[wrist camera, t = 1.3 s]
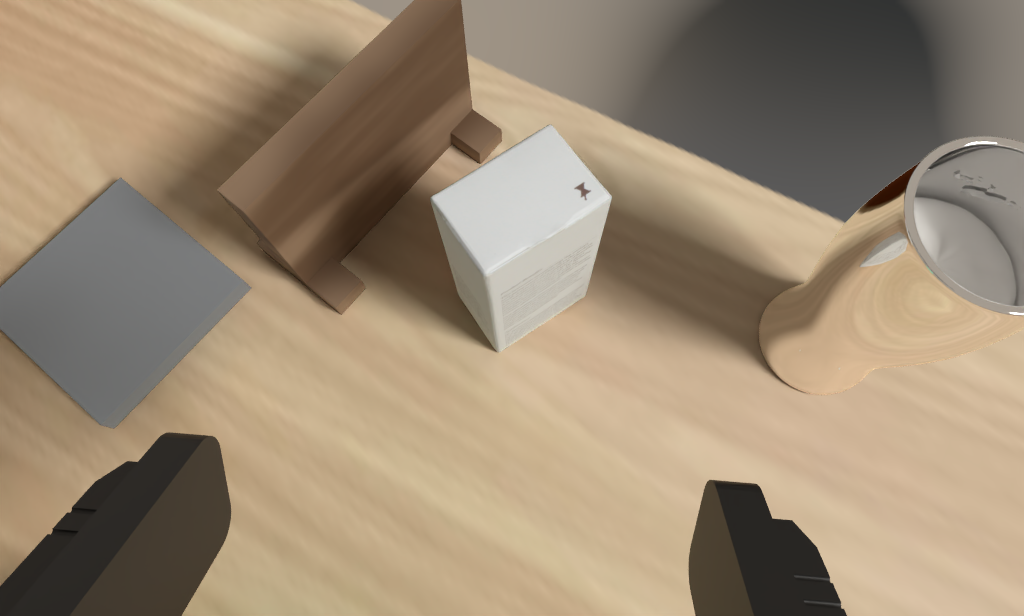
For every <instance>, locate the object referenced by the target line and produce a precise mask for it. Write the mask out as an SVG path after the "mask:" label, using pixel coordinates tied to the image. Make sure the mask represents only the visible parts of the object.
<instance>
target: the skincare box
mask: <svg viewBox="0 0 1024 616" xmlns="http://www.w3.org/2000/svg"><path fill="white" fill-rule="evenodd" d="M430 199H431V204H432V208H433V211H434V214H435V218H436V221H437V224H438V228H439V231H440V234H441V238H442V241H443V244H444V248H445V251H446V254H447V258H448V261H449V265H450V268H451V271H452V275H453V278H454V281H455V285H456V288H457V292H458V295H459V297H460V298H461V300H462V301H463V302H464V304H465V305H466V307H467V308H468V310H469V311H470V313H471V314H472V316H473V317H474V319H475V320H476V322H477V323H478V325H479V326H480V328H481V330H482V331H483V333H484V334H485V336H486V337H487V338H488V340H489V341H490V343H491V344H492V346H493V347H494V349H495V350H496V351H497V352H501V351H503V350H504V349H506V348H507V347H509V346H510V345H512V344H513V343H515V342H516V341H518V340H519V339H521V338H522V337H524V336H526V335H527V334H529V333H530V332H532V331H533V330H535V329H536V328H538V327H539V326H541V325H542V324H544V323H545V322H547V321H548V320H550V319H551V318H553V317H555V316H556V315H558V314H559V313H561V312H562V311H564V310H565V309H567V308H568V307H570V306H571V305H573V304H574V303H576V302H577V301H579V300H580V299H582V298H583V297H585V296H586V292H587V289H588V285H589V282H590V278H591V274H592V270H593V266H594V262H595V259H596V255H597V252H598V247H599V244H600V240H601V236H602V233H603V229H604V225H605V222H606V218H607V214H608V211H609V207H610V203H611V199H612V196H611V195H610V194H609V192H608V191H607V190H606V189H605V188H604V187H603V185H602V184H601V183H600V182H599V181H598V180H597V178H596V177H595V176H594V175H593V174H592V173H591V171H590V170H589V169H588V168H587V167H586V165H585V164H584V163H583V162H582V161H581V160H580V158H579V157H578V156H577V155H576V154H575V152H574V151H573V150H572V149H571V148H570V146H569V145H568V144H567V143H566V141H565V140H564V139H563V138H562V137H561V135H560V134H559V133H558V132H557V131H556V130H555V128H554V127H553V126H552V125H547V126H546V127H544V128H543V129H541V130H539V131H538V132H536V133H534V134H533V135H531V136H529V137H528V138H526V139H524V140H523V141H521V142H520V143H518V144H516V145H515V146H513V147H511V148H510V149H508V150H507V151H505V152H503V153H502V154H500V155H498V156H497V157H495V158H494V159H492V160H490V161H489V162H487V163H486V164H484V165H483V166H481V167H479V168H478V169H476V170H474V171H473V172H471V173H470V174H468V175H466V176H465V177H463V178H462V179H460V180H458V181H457V182H455V183H453V184H452V185H450V186H448V187H447V188H445V189H443V190H442V191H440V192H439V193H437V194H435V195H433V196H432V197H431V198H430Z"/></svg>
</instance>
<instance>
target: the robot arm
mask: <svg viewBox="0 0 1024 616" xmlns="http://www.w3.org/2000/svg"><path fill="white" fill-rule="evenodd" d="M230 520H231V504H230V498H229V493H228V487H227V482H226V476H225V471H224V465H223V460H222V455H221V449H220V445H219V442H218V440H217V439H216V438H215V437H213V436H205V435H193V434H181V433H165V434H163V435H162V436H160V437H159V438H158V439H157V441H156V442H155V443H154V444H153V445H152V446H151V448H150V449H149V450H148V451H147V452H146V453H145V454H144V456H143V457H142V458H141V459H140V460H139V461H138V462H131V461H127V462H125V463H124V464H122V465H121V466H119V467H118V468H116V469H115V470H113V471H111V472H110V473H108V474H107V475H105V476H104V477H102V478H101V479H99V480H97V481H96V482H95V483H94V484H93V485H92V486H91V487H90V488H89V489H88V490H87V491H86V493H85V494H84V495H83V496H82V497H81V498H80V499H79V500H78V501H77V502H76V504H75V505H74V506H73V507H72V511H71V513H66V515H65V516H64V517H63V518H62V519H61V520H60V521H59V522H58V523H57V525H56V526H55V527H54V528H53V532H52V534H51V535H50V534H47V536H46V537H45V538H44V539H43V540H42V541H41V542H40V543H39V544H38V545H37V547H36V548H35V549H34V550H33V551H32V552H31V553H30V554H29V555H28V556H27V558H26V559H25V560H24V561H23V562H22V563H21V564H20V565H19V566H18V567H17V569H16V570H15V571H14V572H13V573H12V574H11V575H10V576H9V577H8V578H7V580H6V581H5V582H4V583H3V584H2V585H1V586H0V616H181V615H182V614H183V612H184V610H185V609H186V607H187V605H188V603H189V602H190V600H191V598H192V597H193V595H194V593H195V592H196V590H197V588H198V586H199V585H200V583H201V581H202V580H203V578H204V576H205V575H206V573H207V571H208V569H209V568H210V566H211V564H212V563H213V561H214V559H215V558H216V556H217V554H218V552H219V551H220V549H221V547H222V545H223V544H224V541H225V539H226V536H227V533H228V530H229V525H230ZM689 583H690V590H691V595H692V600H693V605H694V610H695V615H696V616H847V615H846V613H845V610H844V609H841V601H840V599H839V597H838V594H837V592H836V590H835V588H834V585H833V583H830V576H829V574H828V572H827V569H826V567H825V565H824V563H823V560H822V558H821V556H820V553H819V551H818V549H817V547H816V546H815V545H814V544H813V543H812V542H811V540H810V539H809V538H808V537H807V536H806V535H805V534H804V533H803V532H802V531H801V530H800V529H799V527H798V526H797V525H796V524H795V523H794V522H793V521H792V520H781V519H772V516H771V514H770V511H769V508H768V506H767V503H766V501H765V498H764V495H763V493H762V490H761V488H760V487H759V486H758V485H757V484H752V483H740V482H729V481H717V480H709V481H708V482H707V484H706V486H705V489H704V493H703V497H702V501H701V505H700V510H699V514H698V518H697V522H696V526H695V531H694V535H693V539H692V543H691V548H690V554H689Z"/></svg>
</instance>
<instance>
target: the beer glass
mask: <svg viewBox="0 0 1024 616" xmlns="http://www.w3.org/2000/svg"><path fill="white" fill-rule="evenodd" d="M1023 329H1024V143H1023V142H1020V141H1017V140H1013V139H1008V138H1003V137H995V136H974V137H966V138H961V139H957V140H954V141H951V142H948V143H946V144H944V145H942V146H940V147H938V148H936V149H935V150H933V151H932V152H930V153H929V154H928V155H927V156H925V157H924V158H923V159H922V160H921V161H920V162H919V163H918V164H916V165H915V166H913V167H912V168H911V169H909V170H908V171H906V172H905V173H903V174H902V175H901V176H899V177H898V178H897V179H895V180H894V181H892V182H891V183H890V184H889V185H887V186H886V187H884V188H883V189H882V190H881V191H879V192H878V193H877V194H876V195H875V196H873V197H872V198H871V199H870V200H869V201H868V202H866V203H865V204H864V205H863V206H862V207H861V208H860V209H859V210H858V211H857V212H856V213H855V214H854V215H853V216H852V217H851V218H850V219H849V220H848V221H847V222H846V223H845V224H844V225H843V226H842V227H841V229H840V230H839V231H838V233H837V234H836V235H835V237H834V238H833V239H832V241H831V242H830V244H829V245H828V246H827V248H826V249H825V251H824V253H823V254H822V256H821V258H820V259H819V261H818V263H817V264H816V266H815V268H814V270H813V271H812V273H811V275H810V276H809V278H808V279H807V281H806V282H805V283H803V284H800V285H797V286H795V287H792V288H790V289H788V290H786V291H784V292H782V293H781V294H779V295H778V296H776V297H775V298H774V299H773V300H772V301H771V302H770V303H769V304H768V306H767V307H766V309H765V311H764V313H763V315H762V317H761V320H760V325H759V343H760V348H761V351H762V354H763V356H764V358H765V360H766V362H767V364H768V365H769V367H770V368H771V369H772V371H773V372H774V373H775V374H776V375H777V376H778V377H779V378H780V379H781V380H783V381H784V382H785V383H787V384H788V385H790V386H791V387H793V388H795V389H797V390H800V391H802V392H806V393H809V394H816V395H829V394H836V393H840V392H843V391H846V390H848V389H850V388H852V387H853V386H855V385H856V384H858V383H859V382H860V381H861V380H862V379H864V378H865V377H866V376H867V375H868V374H869V373H870V372H871V371H872V370H874V369H880V368H890V367H901V366H911V365H920V364H926V363H931V362H936V361H942V360H947V359H951V358H954V357H958V356H961V355H964V354H967V353H970V352H973V351H976V350H979V349H982V348H984V347H986V346H989V345H991V344H993V343H996V342H998V341H1000V340H1003V339H1005V338H1007V337H1009V336H1011V335H1013V334H1015V333H1017V332H1019V331H1021V330H1023Z"/></svg>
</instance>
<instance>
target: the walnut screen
mask: <svg viewBox="0 0 1024 616" xmlns="http://www.w3.org/2000/svg"><path fill="white" fill-rule="evenodd" d="M501 141H502V132H501V129H500V128H498V127H497V126H496V125H494V124H493V123H491V122H490V121H488V120H487V119H486V118H484V117H483V116H481V115H480V114H478V113H477V112H476V111H474V110H473V109H472V100H471V91H470V81H469V72H468V62H467V53H466V45H465V34H464V24H463V16H462V5H461V0H414V1H413V2H412V3H411V4H410V5H409V6H408V7H407V8H406V9H405V10H404V11H403V12H402V13H400V15H399V16H398V17H396V18H395V19H394V20H393V21H392V22H391V23H390V24H389V25H388V26H387V27H386V28H385V29H384V30H383V31H382V32H381V33H380V34H379V35H378V36H377V37H375V38H374V39H373V40H372V41H371V42H370V43H369V44H368V45H367V46H366V47H365V48H364V49H363V50H362V51H361V52H360V53H359V54H358V55H357V56H356V57H355V58H354V59H353V60H352V61H350V62H349V63H348V64H347V65H346V66H345V67H344V68H343V69H342V70H341V71H340V72H339V73H338V74H337V75H336V76H335V77H334V78H333V79H332V80H331V81H330V82H329V83H328V84H327V85H325V86H324V87H323V88H322V89H321V90H320V91H319V92H318V93H317V94H316V95H315V96H314V97H313V98H312V99H311V100H310V101H309V102H308V103H307V104H306V105H305V106H304V107H303V108H301V109H300V110H299V111H298V112H297V113H296V114H295V115H294V116H293V117H292V118H291V119H290V120H289V121H288V122H287V123H286V124H285V125H284V126H283V127H282V128H281V129H280V130H279V131H278V132H276V133H275V134H274V135H273V136H272V137H271V138H270V139H269V140H268V141H267V142H266V143H265V144H264V145H263V146H262V147H261V148H260V149H259V150H258V151H257V152H256V153H255V154H254V155H253V156H251V157H250V158H249V159H248V160H247V161H246V162H245V163H244V164H243V165H242V166H241V167H240V168H239V169H238V170H237V171H236V172H235V173H234V174H233V175H232V176H231V177H230V178H229V179H228V180H226V181H225V182H224V183H223V184H222V185H221V186H220V187H219V188H218V189H217V191H218V192H219V193H220V194H221V195H222V196H223V198H224V199H225V200H226V201H227V202H228V203H229V204H230V205H231V206H232V208H233V209H234V210H235V211H236V212H237V213H238V214H239V215H240V217H241V218H242V219H243V220H244V221H245V222H246V223H247V224H248V225H249V227H250V228H251V229H252V230H253V231H254V232H255V233H256V234H257V236H258V237H259V238H260V240H259V241H258V242H257V244H258V245H259V246H260V247H261V248H262V249H263V251H264V252H266V253H267V254H268V255H269V256H270V257H272V258H273V259H274V260H275V261H277V262H278V263H279V264H280V265H281V266H283V267H284V268H285V269H286V270H288V271H289V272H290V273H291V274H292V275H294V276H295V277H296V278H297V279H299V280H300V281H301V282H302V283H303V284H305V285H306V286H307V287H308V288H309V289H311V290H312V291H313V292H314V293H316V294H317V295H318V296H319V297H320V298H322V299H323V300H324V301H325V302H327V303H328V304H329V305H330V306H331V307H333V308H334V309H335V310H336V311H338V312H339V313H340V314H341V315H342V314H343V312H344V311H345V310H346V309H347V308H348V307H349V306H350V305H351V304H352V303H353V302H354V301H355V299H356V298H357V297H358V296H359V295H360V294H361V293H362V292H363V291H364V290H365V289H366V287H365V285H364V284H363V282H362V281H361V280H360V279H359V278H358V277H356V276H355V275H354V274H353V273H351V272H350V271H349V270H348V269H346V268H345V267H344V266H343V265H341V264H340V262H341V261H342V260H343V259H344V257H345V256H346V255H347V254H348V253H349V252H350V251H351V250H352V249H353V248H354V247H355V246H356V245H357V244H358V243H359V242H360V241H361V239H362V238H363V237H364V236H365V235H366V234H367V233H368V232H369V231H370V230H371V229H372V228H373V227H374V226H375V225H376V224H377V223H378V222H379V220H380V219H381V218H382V217H383V216H384V215H385V214H386V213H387V212H388V211H389V210H390V209H391V208H392V207H393V206H394V205H395V204H396V202H397V201H398V200H399V199H400V198H401V197H402V196H403V195H404V194H405V193H406V192H407V191H408V190H409V189H410V188H411V187H412V186H413V185H414V183H415V182H416V181H417V180H418V179H419V178H420V177H421V176H422V175H423V174H424V173H425V172H426V171H427V170H428V169H429V168H430V167H431V166H432V164H433V163H434V162H435V161H436V160H437V159H438V158H439V157H440V156H441V155H442V154H443V153H444V152H445V151H446V150H447V149H448V148H449V146H450V145H451V144H454V145H455V146H456V147H458V148H459V149H461V150H462V151H463V152H465V153H466V154H467V155H469V156H470V157H472V158H473V159H474V160H476V161H477V162H479V163H480V164H481V163H482V162H483V161H484V160H485V159H486V157H487V156H488V155H489V154H490V153H491V152H492V151H493V150H494V149H495V148H496V147H497V145H498V144H499V143H500V142H501Z"/></svg>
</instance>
